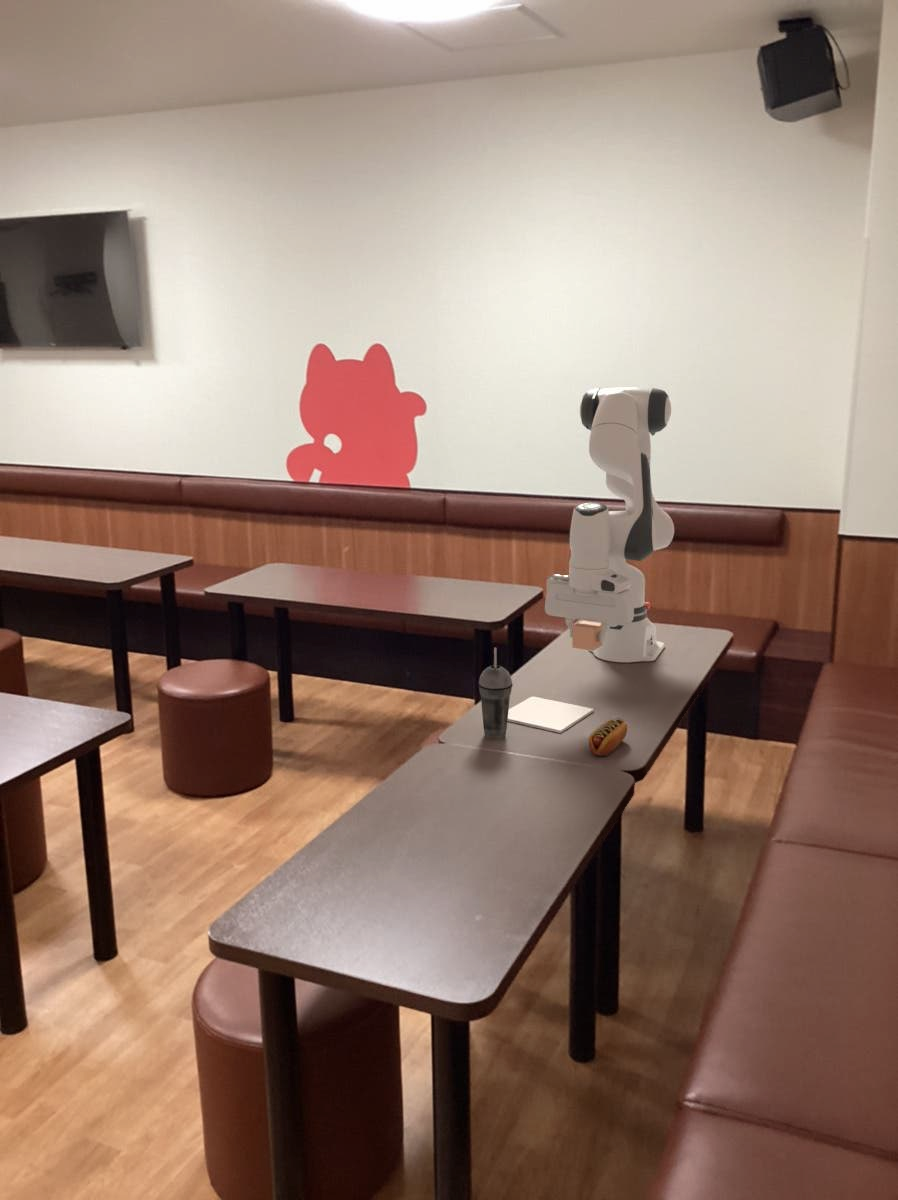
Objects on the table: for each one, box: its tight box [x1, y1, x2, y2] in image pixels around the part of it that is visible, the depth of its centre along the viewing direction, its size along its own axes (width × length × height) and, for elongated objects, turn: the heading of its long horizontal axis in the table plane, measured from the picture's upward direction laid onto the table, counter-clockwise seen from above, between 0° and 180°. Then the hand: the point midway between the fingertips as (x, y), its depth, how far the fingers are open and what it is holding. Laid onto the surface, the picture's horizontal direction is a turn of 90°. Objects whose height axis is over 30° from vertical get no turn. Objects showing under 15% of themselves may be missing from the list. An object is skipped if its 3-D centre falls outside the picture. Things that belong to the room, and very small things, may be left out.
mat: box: [507, 695, 595, 734], centre depth 235 cm, size 16×16×1 cm
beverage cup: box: [477, 647, 514, 741], centre depth 221 cm, size 7×7×20 cm
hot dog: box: [588, 717, 628, 757], centre depth 216 cm, size 5×13×5 cm, turn 149°
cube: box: [571, 620, 603, 652], centre depth 231 cm, size 5×5×5 cm
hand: (587, 639), depth 231 cm, fingers closed on cube, 5 cm apart
